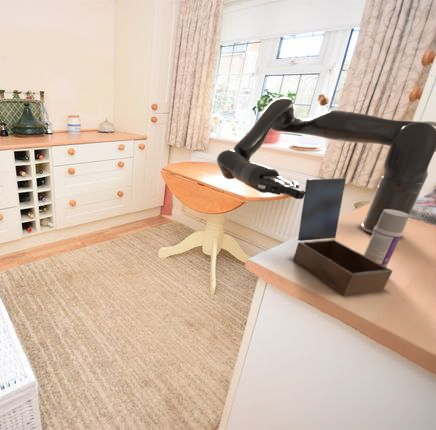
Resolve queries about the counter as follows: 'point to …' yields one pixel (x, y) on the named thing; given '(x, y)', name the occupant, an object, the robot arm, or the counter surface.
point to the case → (342, 267)
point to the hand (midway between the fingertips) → (301, 195)
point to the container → (386, 236)
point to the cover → (321, 208)
